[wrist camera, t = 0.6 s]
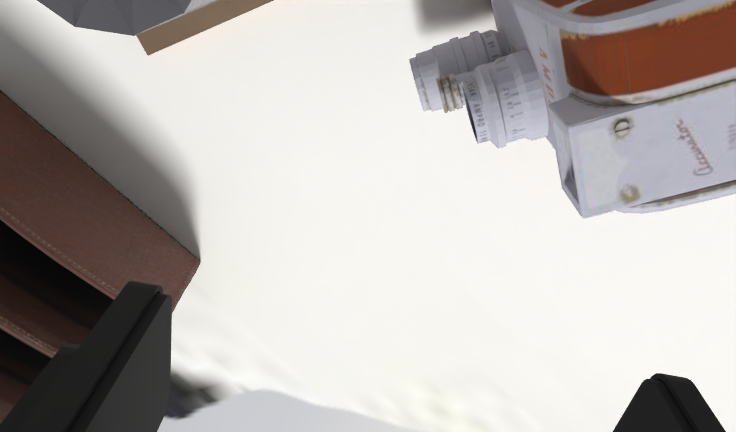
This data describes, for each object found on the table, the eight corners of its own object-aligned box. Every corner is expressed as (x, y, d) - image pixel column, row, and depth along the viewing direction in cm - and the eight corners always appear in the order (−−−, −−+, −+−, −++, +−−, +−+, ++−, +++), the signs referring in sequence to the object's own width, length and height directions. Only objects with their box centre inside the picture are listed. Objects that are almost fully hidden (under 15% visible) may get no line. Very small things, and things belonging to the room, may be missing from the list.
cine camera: (389, -17, 33) (390, 45, 15) (732, -136, 29) (1258, -240, 12) (429, 123, 37) (466, 302, 19) (734, 32, 33) (1127, 146, 16)
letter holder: (128, 323, 46) (31, 469, 33) (-91, 158, 39) (-313, 263, 27) (204, 260, 43) (128, 396, 30) (-21, 68, 36) (-237, 140, 24)
